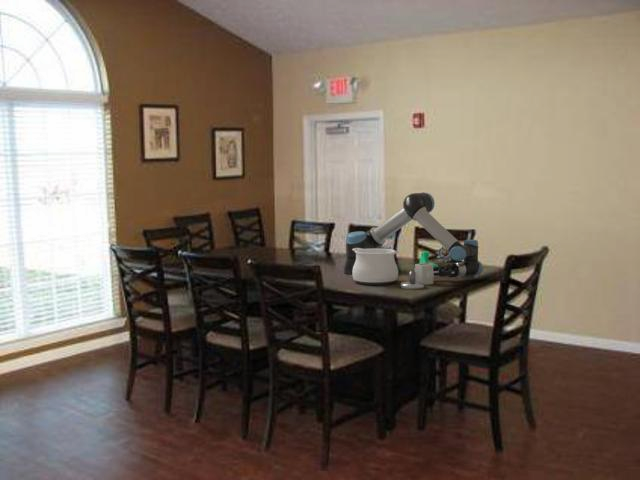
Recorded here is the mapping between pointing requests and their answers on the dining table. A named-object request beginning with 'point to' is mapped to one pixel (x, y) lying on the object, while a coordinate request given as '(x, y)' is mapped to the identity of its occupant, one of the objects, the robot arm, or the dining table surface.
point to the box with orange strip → (423, 273)
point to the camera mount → (424, 258)
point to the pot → (375, 266)
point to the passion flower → (443, 254)
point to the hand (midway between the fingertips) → (420, 272)
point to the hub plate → (410, 286)
